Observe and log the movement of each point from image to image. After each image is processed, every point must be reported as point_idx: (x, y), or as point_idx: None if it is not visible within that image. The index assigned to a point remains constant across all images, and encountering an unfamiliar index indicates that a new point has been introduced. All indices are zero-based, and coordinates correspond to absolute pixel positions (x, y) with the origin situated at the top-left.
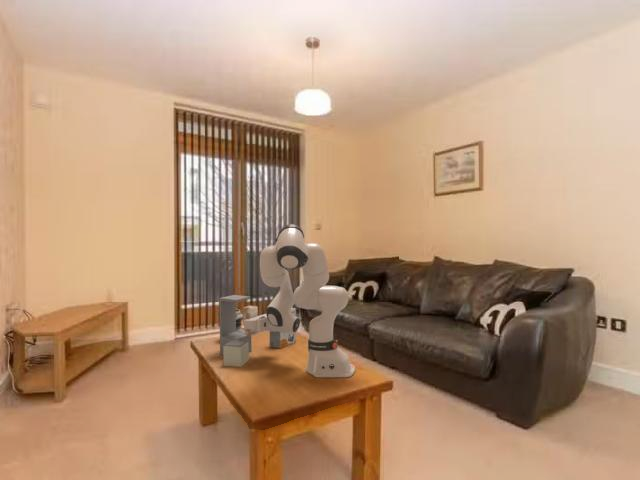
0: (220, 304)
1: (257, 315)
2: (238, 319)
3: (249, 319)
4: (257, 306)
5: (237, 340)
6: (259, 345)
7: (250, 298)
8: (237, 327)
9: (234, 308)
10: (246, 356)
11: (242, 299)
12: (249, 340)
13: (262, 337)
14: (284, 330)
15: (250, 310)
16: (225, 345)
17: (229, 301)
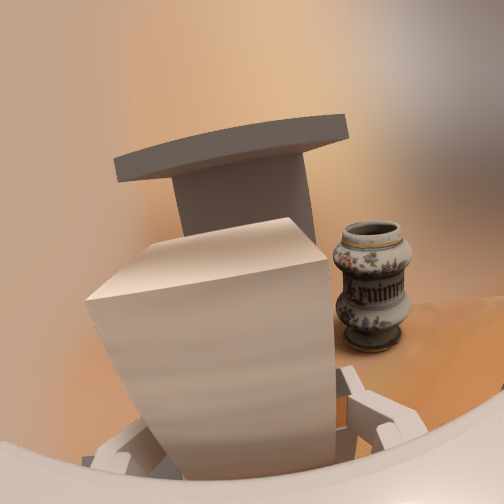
0: (177, 201)
1: (328, 426)
2: (381, 272)
3: (18, 477)
4: (326, 262)
5: (174, 474)
6: (429, 423)
7: (346, 134)
8: (379, 302)
9: (302, 225)
10: None
11: (209, 144)
12: (339, 450)
13: (472, 349)
14: None
15: (109, 339)
16: (82, 464)
17: (249, 180)
